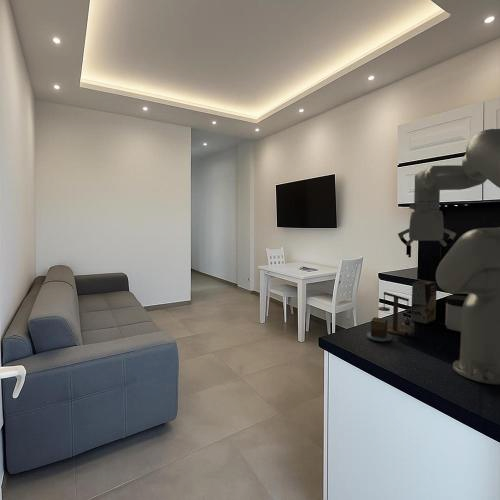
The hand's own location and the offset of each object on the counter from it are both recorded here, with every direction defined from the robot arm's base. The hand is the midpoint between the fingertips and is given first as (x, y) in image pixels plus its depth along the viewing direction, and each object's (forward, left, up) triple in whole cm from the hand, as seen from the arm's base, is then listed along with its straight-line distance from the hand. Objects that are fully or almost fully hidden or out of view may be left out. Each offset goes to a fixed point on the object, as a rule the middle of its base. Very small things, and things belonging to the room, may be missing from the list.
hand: (425, 257), depth 108 cm
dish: (-8, +13, -29) cm, 33 cm away
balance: (+2, +9, -29) cm, 30 cm away
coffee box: (+24, +1, -29) cm, 38 cm away
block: (-8, +13, -27) cm, 31 cm away
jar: (+19, -11, -29) cm, 36 cm away
